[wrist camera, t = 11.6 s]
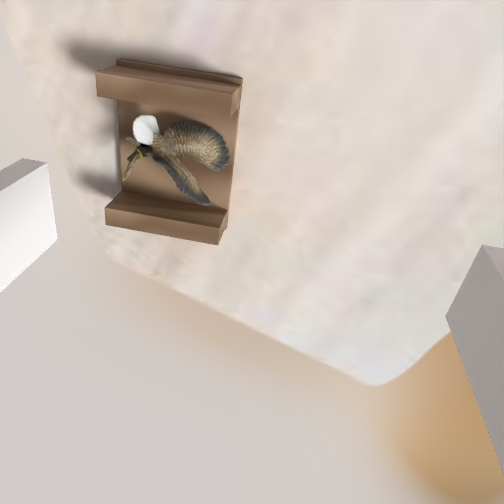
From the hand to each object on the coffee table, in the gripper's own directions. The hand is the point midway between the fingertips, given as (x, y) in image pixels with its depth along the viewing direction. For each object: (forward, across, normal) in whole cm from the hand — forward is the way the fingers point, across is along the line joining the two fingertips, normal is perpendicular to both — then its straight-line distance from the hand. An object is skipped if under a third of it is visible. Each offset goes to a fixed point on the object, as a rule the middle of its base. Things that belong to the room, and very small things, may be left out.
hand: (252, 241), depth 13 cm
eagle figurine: (+30, -10, -9) cm, 33 cm away
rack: (+30, -11, -9) cm, 34 cm away
